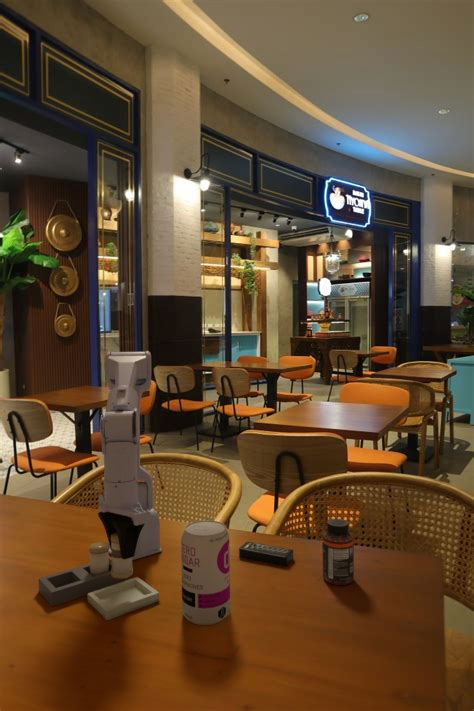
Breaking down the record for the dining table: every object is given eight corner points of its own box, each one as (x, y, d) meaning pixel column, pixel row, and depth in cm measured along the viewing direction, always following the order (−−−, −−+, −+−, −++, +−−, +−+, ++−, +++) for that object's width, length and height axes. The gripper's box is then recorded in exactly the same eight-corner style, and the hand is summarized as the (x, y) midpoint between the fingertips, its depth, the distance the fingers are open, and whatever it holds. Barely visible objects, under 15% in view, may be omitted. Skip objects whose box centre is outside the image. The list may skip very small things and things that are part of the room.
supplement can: (236, 605, 94) (235, 521, 93) (220, 630, 86) (218, 539, 85) (194, 598, 96) (193, 517, 96) (174, 622, 89) (172, 533, 88)
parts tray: (137, 584, 102) (137, 577, 102) (159, 600, 96) (158, 592, 96) (87, 601, 96) (87, 593, 96) (107, 620, 90) (107, 611, 89)
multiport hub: (286, 568, 109) (286, 557, 109) (238, 559, 114) (238, 548, 114) (294, 560, 113) (294, 549, 113) (247, 551, 118) (247, 541, 118)
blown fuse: (127, 567, 98) (126, 529, 98) (136, 574, 95) (136, 536, 95) (107, 572, 96) (107, 534, 95) (116, 580, 93) (116, 541, 92)
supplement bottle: (323, 571, 107) (323, 515, 106) (353, 573, 106) (353, 517, 105) (321, 585, 101) (321, 526, 101) (353, 587, 100) (353, 528, 99)
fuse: (104, 575, 106) (103, 540, 106) (113, 582, 103) (112, 546, 103) (86, 580, 104) (85, 545, 104) (94, 588, 101) (93, 551, 101)
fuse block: (108, 569, 108) (108, 557, 108) (124, 582, 103) (124, 569, 103) (38, 591, 100) (38, 578, 100) (52, 606, 94) (51, 592, 94)
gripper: (82, 474, 98) (84, 546, 99) (118, 491, 87) (120, 574, 87) (118, 467, 102) (119, 537, 103) (156, 483, 91) (158, 562, 92)
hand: (122, 553), depth 95 cm, fingers closed on blown fuse, 4 cm apart
